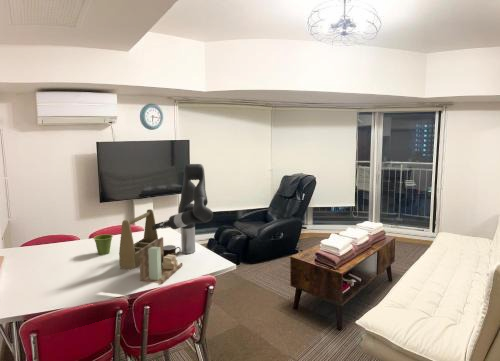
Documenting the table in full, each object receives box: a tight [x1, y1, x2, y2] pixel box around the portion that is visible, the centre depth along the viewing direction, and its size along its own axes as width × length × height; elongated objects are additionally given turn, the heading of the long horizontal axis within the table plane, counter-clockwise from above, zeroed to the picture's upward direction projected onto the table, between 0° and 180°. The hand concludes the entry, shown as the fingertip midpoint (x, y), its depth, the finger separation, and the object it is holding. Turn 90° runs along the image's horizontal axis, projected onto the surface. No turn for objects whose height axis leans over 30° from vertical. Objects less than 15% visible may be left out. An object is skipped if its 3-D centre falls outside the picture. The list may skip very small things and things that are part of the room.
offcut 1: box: [163, 254, 177, 263], centre depth 190 cm, size 5×6×3 cm
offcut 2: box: [162, 259, 179, 269], centre depth 191 cm, size 6×7×4 cm
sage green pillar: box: [148, 247, 162, 280], centre depth 175 cm, size 4×5×17 cm
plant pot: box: [93, 233, 114, 256], centre depth 216 cm, size 12×12×11 cm
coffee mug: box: [163, 244, 182, 257], centre depth 200 cm, size 12×9×10 cm
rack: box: [139, 236, 183, 284], centre depth 181 cm, size 24×13×18 cm, turn 167°
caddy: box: [118, 209, 159, 270], centre depth 202 cm, size 29×11×30 cm, turn 168°
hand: (158, 227), depth 178 cm, fingers open, 8 cm apart
